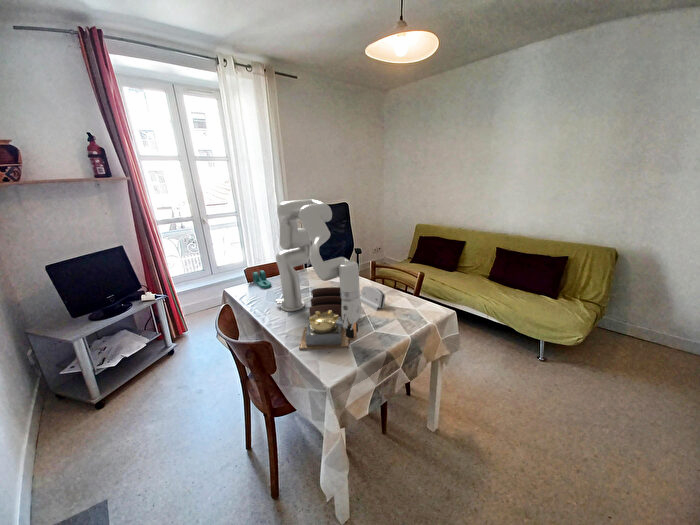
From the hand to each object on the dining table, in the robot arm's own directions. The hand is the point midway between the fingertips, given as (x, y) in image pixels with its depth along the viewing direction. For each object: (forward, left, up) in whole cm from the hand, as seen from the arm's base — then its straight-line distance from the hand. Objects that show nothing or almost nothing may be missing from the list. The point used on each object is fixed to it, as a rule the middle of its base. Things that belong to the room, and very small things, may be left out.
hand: (352, 334), depth 113 cm
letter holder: (-10, +25, -5) cm, 27 cm away
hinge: (+11, +38, -5) cm, 40 cm away
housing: (-12, +6, -5) cm, 14 cm away
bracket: (-58, +73, -5) cm, 93 cm away
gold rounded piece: (-8, +4, -2) cm, 9 cm away
